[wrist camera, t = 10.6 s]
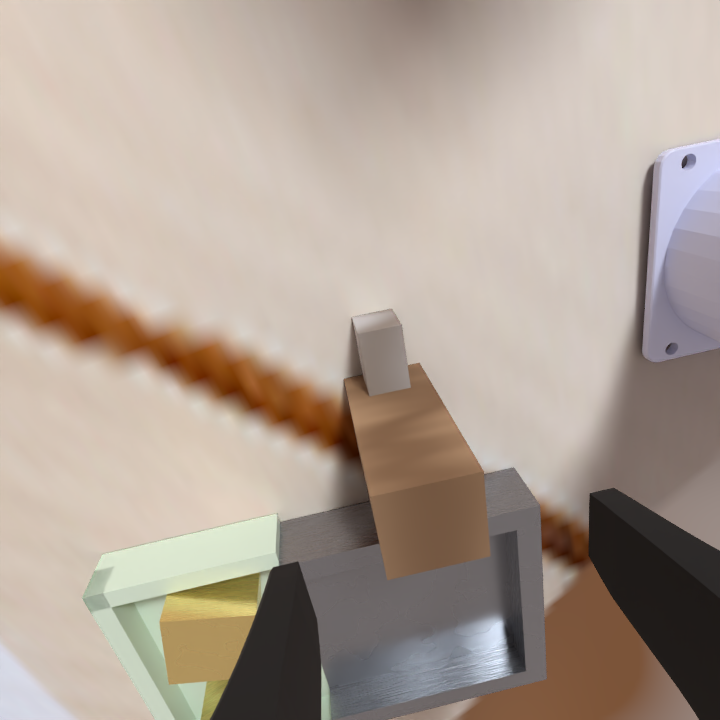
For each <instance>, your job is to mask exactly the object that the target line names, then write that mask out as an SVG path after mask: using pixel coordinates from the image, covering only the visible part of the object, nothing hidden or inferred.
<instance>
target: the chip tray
mask: <svg viewBox="0 0 720 720" xmlns="http://www.w3.org/2000/svg"><path fill="white" fill-rule="evenodd" d="M279 540H280V521H279V518H278V515H277V514H273V515H269V516H265V517H260V518H256V519H252V520H247V521H243V522H239V523H235V524H230V525H226V526H222V527H217V528H213V529H209V530H205V531H200V532H196V533H192V534H188V535H183V536H179V537H175V538H170V539H166V540H162V541H158V542H153V543H149V544H145V545H140V546H136V547H132V548H128V549H123V550H119V551H115V552H110V553H106V554H102V556H101V559H100V561H99V563H98V565H97V567H96V569H95V571H94V574H93V576H92V578H91V580H90V582H89V584H88V586H87V589H86V591H85V593H84V595H83V597H82V599H83V601H84V602H85V604H86V606H87V607H88V609H89V611H90V612H91V614H92V616H93V617H94V619H95V621H96V622H97V624H98V626H99V627H100V629H101V631H102V632H103V634H104V636H105V637H106V639H107V641H108V642H109V644H110V646H111V647H112V649H113V651H114V652H115V654H116V656H117V657H118V659H119V661H120V662H121V664H122V666H123V667H124V669H125V671H126V672H127V674H128V676H129V677H130V679H131V681H132V682H133V684H134V686H135V687H136V689H137V691H138V692H139V694H140V696H141V697H142V699H143V701H144V702H145V704H146V706H147V707H148V709H149V711H150V712H151V714H152V716H153V717H154V719H155V720H201V714H202V708H203V702H204V696H205V689H206V683H207V681H206V682H195V683H184V684H172V685H169V683H168V676H167V670H166V663H165V657H164V650H163V643H162V637H161V630H160V624H159V621H160V618H161V614H162V611H163V607H164V603H165V600H166V596H167V594H170V593H174V592H178V591H182V590H187V589H191V588H195V587H199V586H203V585H208V584H212V583H216V582H220V581H224V580H229V579H233V578H237V577H241V576H245V575H250V574H254V573H258V572H260V573H261V598H262V595H263V592H264V589H265V586H266V583H267V580H268V576H269V573H270V571H271V569H272V568H273V567H276V566H279ZM321 720H332V718H331V703H330V688H329V685H328V682H327V679H326V676H325V673H324V670H323V667H322V664H321Z"/></svg>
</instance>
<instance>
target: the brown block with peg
mask: <svg viewBox="0 0 720 720" xmlns="http://www.w3.org/2000/svg"><path fill="white" fill-rule="evenodd" d="M352 321H353V326H354V332H355V337H356V342H357V347H358V353H359V358H360V363H361V368H362V374H363V375H360V376H355V377H351V378H346V379H344V383H345V387H346V392H347V397H348V402H349V407H350V411H351V416H352V421H353V426H354V431H355V435H356V440H357V445H358V449H359V454H360V458H361V463H362V468H363V472H364V477H365V481H366V486H367V490H368V495H369V499H370V504H371V508H372V513H373V517H374V522H375V526H376V531H377V536H378V540H379V545H380V549H381V554H382V558H383V563H384V567H385V572H386V576H387V580H391V579H395V578H400V577H404V576H408V575H413V574H417V573H421V572H425V571H430V570H434V569H438V568H442V567H447V566H451V565H455V564H460V563H464V562H468V561H472V560H477V559H481V558H485V557H490V556H491V555H490V543H489V530H488V518H487V506H486V494H485V482H484V471H483V469H482V468H481V466H480V464H479V463H478V461H477V459H476V458H475V456H474V454H473V453H472V451H471V449H470V447H469V446H468V444H467V442H466V441H465V439H464V437H463V436H462V434H461V432H460V431H459V429H458V427H457V426H456V424H455V422H454V420H453V419H452V417H451V415H450V414H449V412H448V410H447V409H446V407H445V405H444V404H443V402H442V400H441V399H440V397H439V395H438V393H437V392H436V390H435V388H434V387H433V385H432V383H431V382H430V380H429V378H428V377H427V375H426V373H425V371H424V370H423V368H422V366H421V365H420V363H416V364H412V365H407V358H406V351H405V344H404V337H403V330H402V325H401V323H400V321H399V320H398V318H397V316H396V315H395V313H394V312H393V310H392V309H388V310H383V311H378V312H373V313H369V314H364V315H359V316H354V317H352Z"/></svg>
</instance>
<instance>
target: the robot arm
mask: <svg viewBox="0 0 720 720" xmlns="http://www.w3.org/2000/svg"><path fill="white" fill-rule="evenodd" d="M685 156H687V159H688V161H687V164H686V166H685V167H684V168H682V165H681V163H682V160H683V158H684V157H685ZM669 344H671V346H670V347H669V349H668V350H666V347H667V346H668V345H669ZM718 348H720V139H715V140H710V141H705V142H701V143H696V144H691V145H686V146H682V147H677V148H672V149H668V150H666V151H663V152H662V153H661V154H660V155H659V156H658V158H657V159H656V161H655V164H654V172H653V187H652V203H651V219H650V235H649V251H648V266H647V282H646V298H645V314H644V330H643V345H642V353H643V356H644V357H645V358H646V359H648V360H649V361H651V362H661V361H666V360H670V359H675V358H679V357H683V356H688V355H692V354H696V353H701V352H705V351H710V350H714V349H718ZM665 350H666V351H665ZM589 557H590V559H591V561H592V562H593V564H594V566H595V568H596V570H597V571H598V573H599V575H600V577H601V579H602V580H603V582H604V584H605V586H606V587H607V589H608V591H609V592H610V594H611V596H612V597H613V599H614V600H615V601H616V603H617V604H618V606H619V607H620V609H621V610H622V611H623V613H624V614H625V616H626V617H627V618H628V620H629V621H630V622H631V624H632V625H633V627H634V628H635V629H636V631H637V632H638V634H639V635H640V636H641V638H642V639H643V640H644V642H645V643H646V644H647V646H648V647H649V649H650V650H651V651H652V653H653V654H654V655H655V657H656V658H657V659H658V661H659V662H660V664H661V665H662V666H663V668H664V669H665V671H666V672H667V673H668V675H669V676H670V677H671V679H672V680H673V682H674V683H675V684H676V686H677V687H678V688H679V690H680V691H681V693H682V694H683V696H684V697H685V699H686V700H687V702H688V703H689V704H690V706H691V708H692V709H693V711H694V712H695V714H696V715H697V717H698V718H699V720H720V551H719V550H717V549H715V548H714V547H712V546H710V545H708V544H706V543H705V542H703V541H701V540H700V539H698V538H696V537H694V536H693V535H691V534H689V533H687V532H686V531H684V530H683V529H681V528H679V527H677V526H676V525H674V524H672V523H671V522H669V521H667V520H666V519H664V518H663V517H661V516H659V515H658V514H656V513H654V512H653V511H651V510H649V509H648V508H646V507H645V506H643V505H641V504H640V503H638V502H636V501H635V500H633V499H632V498H630V497H628V496H627V495H625V494H623V493H622V492H620V491H618V490H617V489H615V488H611V489H607V490H603V491H598V492H594V493H590V503H589ZM210 720H321V655H320V643H319V633H318V623H317V617H316V614H315V611H314V608H313V605H312V602H311V599H310V596H309V593H308V590H307V586H306V583H305V580H304V577H303V574H302V571H301V568H300V565H299V562H298V561H297V562H293V563H289V564H285V565H280V566H276V567H273V568H272V569H271V571H270V573H269V576H268V580H267V583H266V586H265V589H264V592H263V595H262V598H261V601H260V604H259V607H258V610H257V612H256V615H255V618H254V621H253V623H252V626H251V628H250V631H249V633H248V636H247V638H246V641H245V643H244V646H243V648H242V651H241V653H240V656H239V658H238V661H237V663H236V665H235V667H234V670H233V672H232V674H231V676H230V678H229V681H228V683H227V685H226V687H225V689H224V691H223V694H222V696H221V698H220V700H219V702H218V704H217V706H216V708H215V710H214V712H213V714H212V716H211V718H210Z"/></svg>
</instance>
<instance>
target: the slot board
mask: <svg viewBox="0 0 720 720" xmlns="http://www.w3.org/2000/svg"><path fill="white" fill-rule="evenodd" d="M484 482H485V494H486V506H487V518H488V530H489V543H490V555H491V556H490V557H485V558H481V559H477V560H472V561H468V562H464V563H460V564H455V565H451V566H447V567H442V568H438V569H434V570H430V571H425V572H421V573H417V574H413V575H408V576H404V577H400V578H395V579H391V580H387V576H386V572H385V567H384V563H383V558H382V554H381V549H380V545H379V540H378V536H377V531H376V526H375V522H374V517H373V513H372V508H371V504H370V501H369V502H365V503H361V504H356V505H352V506H348V507H344V508H339V509H335V510H331V511H327V512H322V513H318V514H314V515H309V516H305V517H301V518H297V519H292V520H288V521H284V522H280V540H279V566H280V565H285V564H289V563H293V562H297V561H298V562H299V565H300V568H301V571H302V574H303V577H304V580H305V583H306V586H307V590H308V593H309V596H310V599H311V602H312V605H313V608H314V611H315V614H316V617H317V623H318V633H319V643H320V655H321V664H322V667H323V670H324V673H325V676H326V679H327V682H328V685H329V688H330V703H331V718H332V720H388V719H392V718H395V717H399V716H403V715H407V714H411V713H415V712H419V711H423V710H427V709H431V708H435V707H439V706H443V705H447V704H451V703H455V702H459V701H463V700H466V699H470V698H474V697H478V696H482V695H486V694H490V693H494V692H498V691H502V690H506V689H509V688H514V687H517V686H522V685H525V684H530V683H533V682H537V681H541V680H545V679H547V678H546V677H547V676H546V650H545V624H544V597H543V570H542V544H541V517H540V504H539V503H538V502H537V500H536V499H535V497H534V496H533V494H532V493H531V491H530V490H529V489H528V487H527V486H526V484H525V483H524V481H523V480H522V479H521V477H520V476H519V474H518V473H517V471H516V470H515V468H510V469H506V470H501V471H497V472H493V473H489V474H484Z"/></svg>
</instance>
